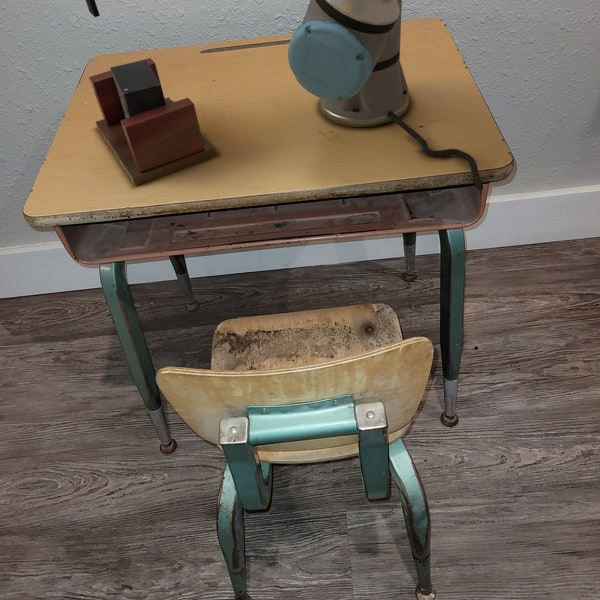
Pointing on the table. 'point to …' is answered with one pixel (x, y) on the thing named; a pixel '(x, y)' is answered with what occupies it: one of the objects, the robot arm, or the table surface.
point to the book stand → (150, 133)
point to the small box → (137, 88)
